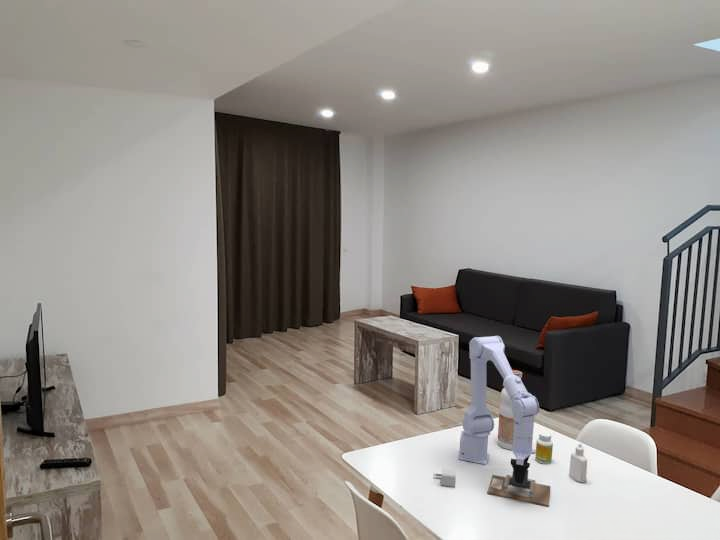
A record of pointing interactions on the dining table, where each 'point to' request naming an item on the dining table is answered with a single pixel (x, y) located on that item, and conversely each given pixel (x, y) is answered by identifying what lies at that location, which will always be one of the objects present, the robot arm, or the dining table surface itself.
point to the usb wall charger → (447, 477)
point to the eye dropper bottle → (578, 465)
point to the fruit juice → (506, 419)
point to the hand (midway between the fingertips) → (520, 476)
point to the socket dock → (519, 490)
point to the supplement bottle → (544, 448)
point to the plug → (523, 485)
